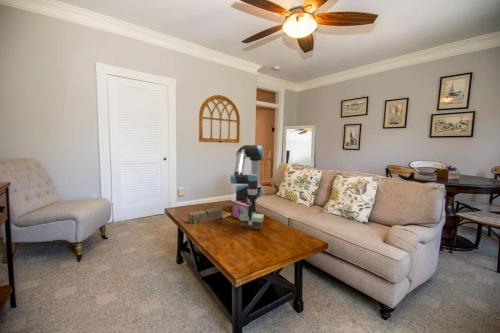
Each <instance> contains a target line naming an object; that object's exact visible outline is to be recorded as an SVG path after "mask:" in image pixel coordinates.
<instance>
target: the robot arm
mask: <svg viewBox="0 0 500 333" xmlns="http://www.w3.org/2000/svg"><path fill="white" fill-rule="evenodd" d="M235 157H236V161H235V165H234V170H233V171H234V172H233V173H232V174H231V175H230V177H229V178H230V184H233V185H234V184H235V185H236V186H235V201H238V200H240V201H244V202H247V203H249V209H248V215H247V216H249V221H248V225H252V214H255V212H256V213H257V210H256V209H257V206H256V200H258V199H259V198H262V196H263V188H264V186H262V184H261V183H260V182H261V161H262V159H264V149H263V146H262V145H258V144H256V145H255V144H252V145H251V144H246V145H242V146H240V147H239V149H238V150H237V152H236V154H235ZM247 158H249V160H250V162H251V164H250V172H251V173H249V174H244V169H245V163H246V162H245V161H246V159H247ZM248 200H249V201H248ZM255 210H256V211H255Z"/></svg>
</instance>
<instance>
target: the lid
mask: <svg viewBox="0 0 500 333" xmlns="http://www.w3.org/2000/svg"><path fill="white" fill-rule="evenodd" d="M247 215H248V213H242V214H241V215H240V219H239V221H241V220H242V221H249V216H247ZM264 219H265V215H264V214H261V213H256V214H252V222H262V221H263V222H264Z"/></svg>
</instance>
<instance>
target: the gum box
mask: <svg viewBox="0 0 500 333" xmlns="http://www.w3.org/2000/svg"><path fill="white" fill-rule="evenodd" d="M248 209H249V202H248V203H247V202H244V201H240V200H238V201H236V200H235V201H234V200H233V201H232V217H234V218H237V219H239V220H240V215H241V214H242V213H248ZM255 211H256V212H255V214H257V210H255Z"/></svg>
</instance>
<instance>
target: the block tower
mask: <svg viewBox="0 0 500 333" xmlns="http://www.w3.org/2000/svg"><path fill="white" fill-rule="evenodd" d="M223 211H224V208H222V207H221V206H217V207H212V208H207V209H205V210H195V211H191V212H188V213H187V222H188V223H189V224H194V225H195V223H196V224H198V223H199V224H200V223H204V222H208V221H209V222H210V221H212V220H216V219H221V218H220V217H221V216H222V214H223Z"/></svg>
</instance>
